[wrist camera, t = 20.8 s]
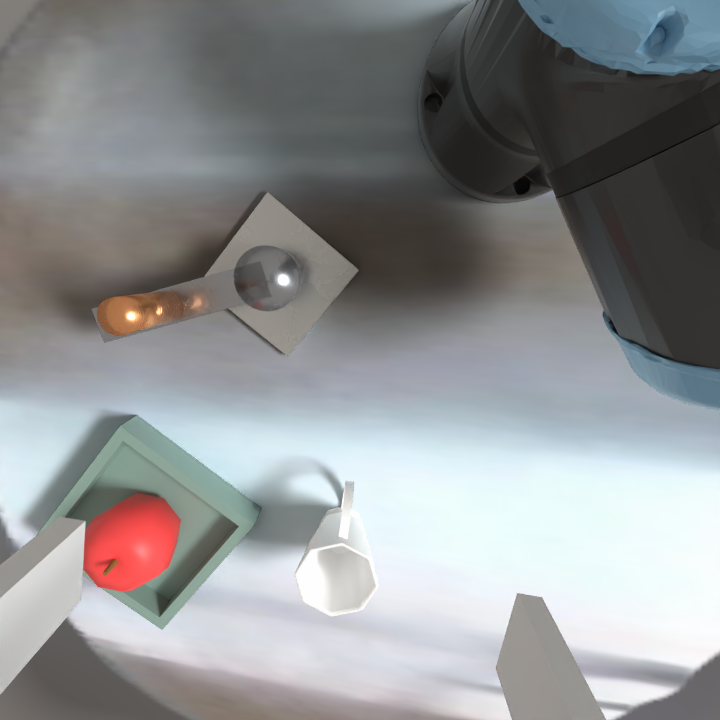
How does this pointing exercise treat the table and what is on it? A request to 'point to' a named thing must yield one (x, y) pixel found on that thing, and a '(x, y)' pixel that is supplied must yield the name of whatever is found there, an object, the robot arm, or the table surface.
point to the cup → (338, 562)
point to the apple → (131, 542)
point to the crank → (206, 295)
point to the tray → (185, 496)
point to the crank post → (317, 263)
